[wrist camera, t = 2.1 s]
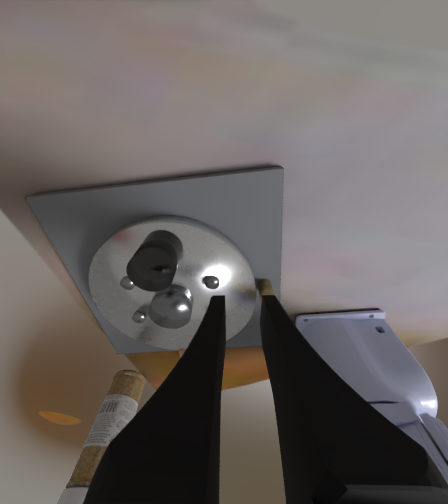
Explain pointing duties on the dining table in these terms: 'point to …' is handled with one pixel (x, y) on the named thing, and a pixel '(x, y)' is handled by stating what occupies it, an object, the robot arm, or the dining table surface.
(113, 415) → the sprinkles bottle
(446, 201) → the dining table surface
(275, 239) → the charcoal board
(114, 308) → the flange plate
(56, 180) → the dining table surface
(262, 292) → the brass dowel
